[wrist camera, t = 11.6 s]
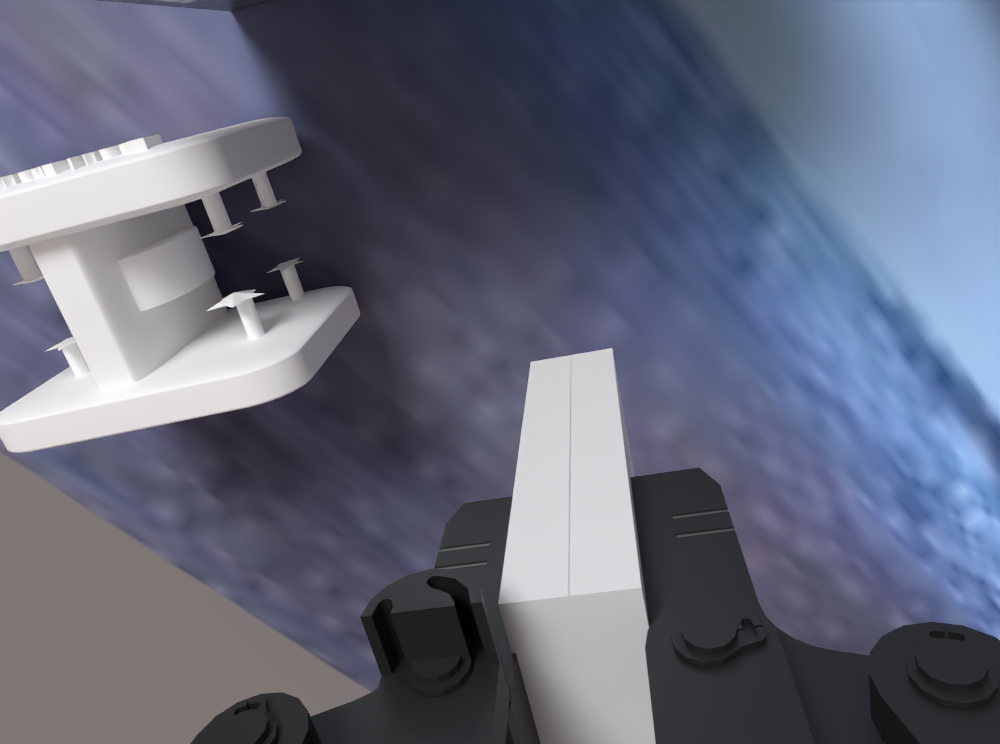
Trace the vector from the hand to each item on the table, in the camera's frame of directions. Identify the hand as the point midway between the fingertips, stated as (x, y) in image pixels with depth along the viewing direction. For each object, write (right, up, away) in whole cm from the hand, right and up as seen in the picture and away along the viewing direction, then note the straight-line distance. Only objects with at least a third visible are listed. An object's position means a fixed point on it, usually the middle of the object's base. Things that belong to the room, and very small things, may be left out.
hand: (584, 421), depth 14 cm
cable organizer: (-17, +8, +25) cm, 31 cm away
